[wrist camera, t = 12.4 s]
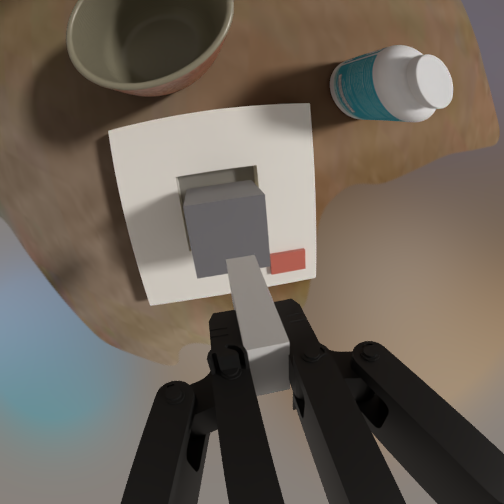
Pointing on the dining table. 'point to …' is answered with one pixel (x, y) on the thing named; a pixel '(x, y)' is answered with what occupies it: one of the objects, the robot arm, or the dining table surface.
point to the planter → (146, 42)
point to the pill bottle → (391, 85)
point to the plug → (226, 225)
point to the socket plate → (212, 173)
